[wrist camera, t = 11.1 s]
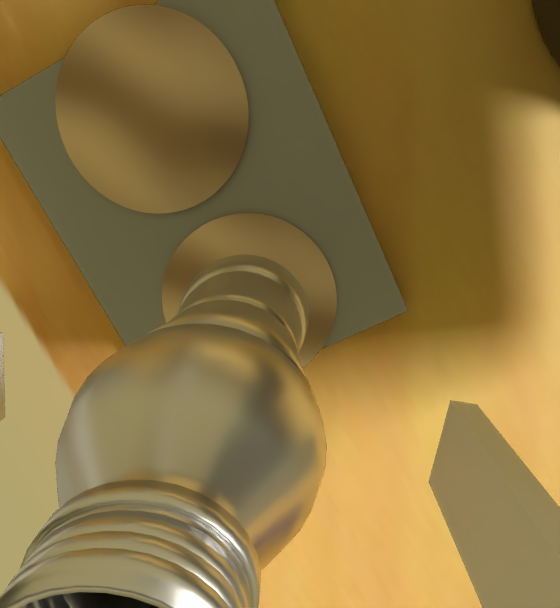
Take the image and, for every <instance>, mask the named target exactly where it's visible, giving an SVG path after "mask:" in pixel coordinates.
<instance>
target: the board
mask: <svg viewBox="0 0 560 608" xmlns="http://www.w3.org/2000/svg"><path fill="white" fill-rule="evenodd" d="M154 5H159V6H163V7H168V8H172V9H175V10H177V11H180V12H182V13H185V14H187V15H189V16H190V17H192V18H194V19H196V20H197V21H199V22H200V23H201V24H203V25H204V26H205V27H207V28H208V29H209V30H210V31H211V32H212V33H213V34H214V35H215V36H216V37H217V38H218V39H219V40H220V41H221V42H222V44H223V45H224V46H225V47H226V49H227V50H228V52H229V53H230V55H231V57H232V58H233V60H234V62H235V64H236V66H237V68H238V70H239V72H240V75H241V77H242V80H243V83H244V86H245V89H246V95H247V100H248V109H249V127H248V135H247V140H246V145H245V148H244V151H243V154H242V157H241V159H240V161H239V163H238V166H237V167H236V169H235V171H234V172H233V174H232V175H231V177H230V178H229V179H228V181H227V182H226V183H225V184H224V186H223V187H222V188H221V189H219V190H218V191H217V192H216V193H215V194H214V195H213V196H211V197H210V198H208V199H207V200H205V201H204V202H202V203H200V204H198V205H196V206H194V207H191V208H188V209H185V210H182V211H177V212H172V213H161V214H155V213H144V212H140V211H135V210H132V209H129V208H126V207H123V206H121V205H119V204H117V203H115V202H113V201H111V200H109V199H108V198H106V197H105V196H103V195H102V194H100V193H99V192H98V191H97V190H96V189H95V188H93V187H92V186H91V185H90V184H89V183H88V182H87V181H86V180H85V179H84V177H83V176H82V175H81V174H80V172H79V171H78V170H77V168H76V167H75V166H74V164H73V162H72V161H71V159H70V157H69V155H68V153H67V151H66V149H65V146H64V144H63V142H62V139H61V135H60V132H59V128H58V123H57V117H56V104H55V98H56V86H57V81H58V76H59V72H60V69H61V66H62V63H63V60H64V58H63V59H61V60H60V61H58V62H56V63H54V64H53V65H51V66H49V67H48V68H46V69H44V70H43V71H41V72H39V73H38V74H36V75H34V76H33V77H31V78H29V79H28V80H26V81H24V82H23V83H21V84H19V85H17V86H16V87H14V88H12V89H11V90H9V91H7V92H6V93H4V94H2V95H1V96H0V138H1V140H2V142H3V143H4V145H5V147H6V148H7V150H8V152H9V153H10V155H11V157H12V158H13V160H14V161H15V163H16V165H17V166H18V168H19V170H20V171H21V173H22V175H23V176H24V178H25V180H26V181H27V183H28V185H29V186H30V188H31V190H32V191H33V193H34V195H35V196H36V198H37V200H38V201H39V203H40V205H41V206H42V208H43V210H44V211H45V213H46V215H47V216H48V218H49V220H50V221H51V223H52V225H53V226H54V228H55V230H56V231H57V233H58V235H59V236H60V238H61V240H62V241H63V243H64V245H65V246H66V248H67V250H68V251H69V253H70V255H71V256H72V258H73V260H74V261H75V263H76V265H77V266H78V268H79V269H80V271H81V273H82V274H83V276H84V278H85V279H86V281H87V283H88V284H89V286H90V288H91V289H92V291H93V293H94V294H95V296H96V298H97V299H98V301H99V303H100V304H101V306H102V308H103V309H104V311H105V313H106V314H107V316H108V318H109V319H110V321H111V323H112V324H113V326H114V328H115V329H116V331H117V333H118V334H119V336H120V338H121V339H122V341H123V343H124V344H125V346H126V345H128V344H129V343H131V342H132V341H134V340H135V339H137V338H139V337H140V336H143V335H145V334H147V333H149V332H151V331H152V330H154V329H156V328H158V327H160V326H162V325H164V324H166V321H165V317H164V313H163V306H162V286H163V279H164V276H165V272H166V269H167V266H168V264H169V262H170V260H171V258H172V256H173V254H174V253H175V251H176V250H177V248H178V247H179V246H180V244H181V243H182V242H183V241H184V240H185V239H186V238H187V237H188V236H189V235H190V234H191V233H192V232H194V231H195V230H197V229H198V228H200V227H201V226H202V225H204V224H206V223H208V222H210V221H212V220H215V219H218V218H221V217H224V216H228V215H233V214H240V213H255V214H263V215H268V216H273V217H275V218H278V219H281V220H284V221H286V222H288V223H289V224H291V225H293V226H295V227H296V228H298V229H299V230H301V231H302V232H304V233H305V234H306V235H307V236H308V237H309V238H310V239H311V240H312V241H313V242H314V243H315V244H316V245H317V247H318V248H319V249H320V250H321V252H322V253H323V255H324V257H325V258H326V260H327V262H328V264H329V267H330V269H331V271H332V274H333V278H334V281H335V286H336V292H337V308H336V316H335V320H334V324H333V327H332V330H331V332H330V335H329V337H328V339H327V340H326V342H325V344H324V346H323V347H322V348H321V349H323V348H325V347H327V346H330V345H332V344H334V343H336V342H339V341H341V340H343V339H345V338H348V337H350V336H352V335H354V334H357V333H359V332H361V331H363V330H366V329H368V328H370V327H373V326H375V325H377V324H379V323H382V322H384V321H386V320H388V319H391V318H393V317H395V316H397V315H400V314H402V313H404V312H407V311H408V309H407V307H406V304H405V302H404V300H403V297H402V295H401V293H400V290H399V288H398V286H397V283H396V281H395V279H394V276H393V274H392V272H391V270H390V267H389V265H388V263H387V260H386V258H385V256H384V253H383V251H382V249H381V246H380V244H379V242H378V239H377V237H376V235H375V232H374V230H373V228H372V225H371V223H370V221H369V219H368V216H367V214H366V212H365V209H364V207H363V205H362V202H361V200H360V198H359V195H358V193H357V191H356V188H355V186H354V184H353V181H352V179H351V177H350V174H349V172H348V170H347V167H346V165H345V163H344V161H343V158H342V156H341V154H340V151H339V149H338V147H337V144H336V142H335V140H334V137H333V135H332V133H331V130H330V128H329V126H328V123H327V121H326V119H325V116H324V114H323V112H322V110H321V107H320V105H319V103H318V100H317V98H316V96H315V93H314V91H313V89H312V86H311V84H310V82H309V79H308V77H307V75H306V72H305V70H304V68H303V65H302V63H301V61H300V59H299V56H298V54H297V52H296V49H295V47H294V45H293V42H292V40H291V38H290V35H289V33H288V31H287V28H286V26H285V24H284V21H283V19H282V17H281V14H280V12H279V10H278V8H277V5H276V3H275V1H274V0H161V1H159V2H157V3H155V4H154Z"/></svg>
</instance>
